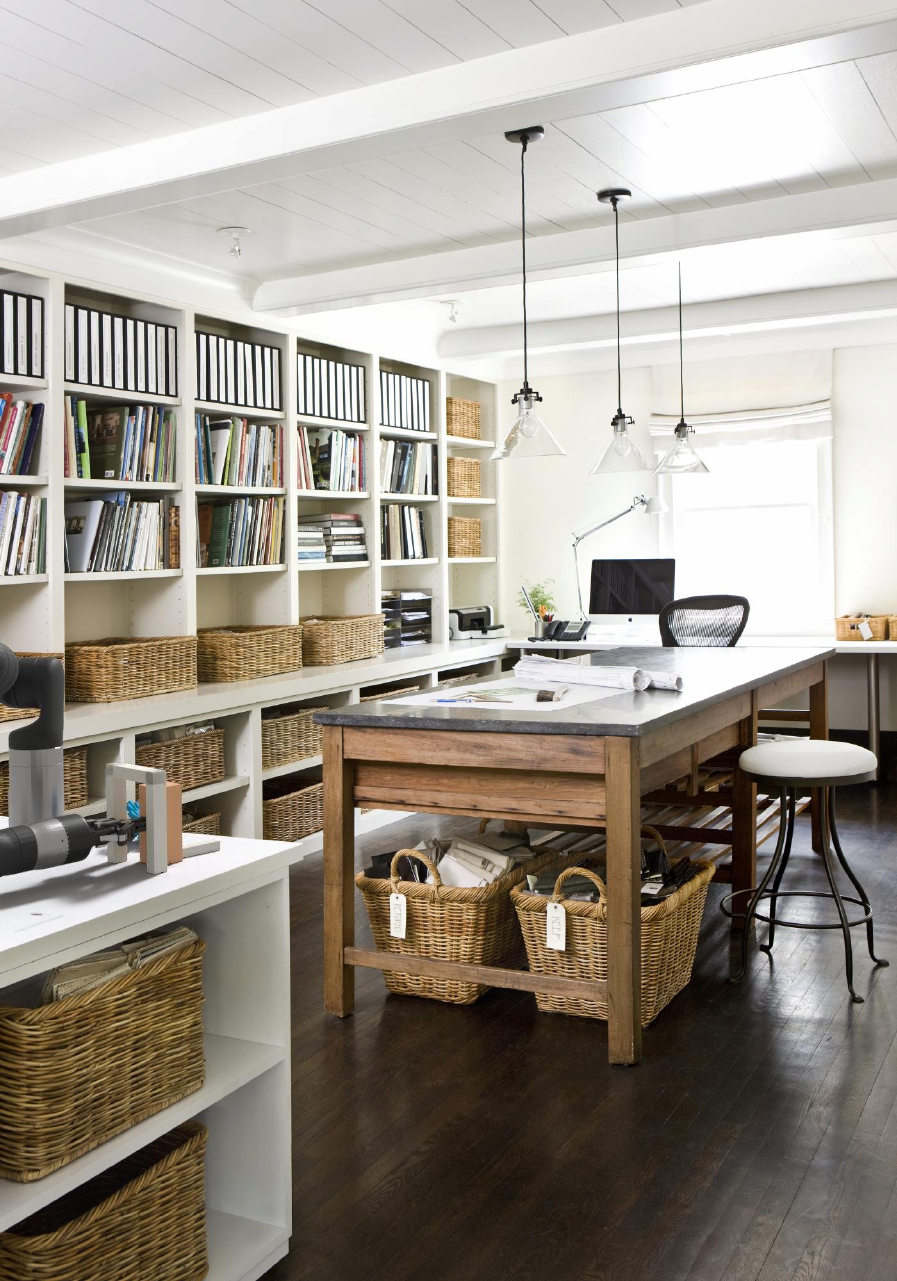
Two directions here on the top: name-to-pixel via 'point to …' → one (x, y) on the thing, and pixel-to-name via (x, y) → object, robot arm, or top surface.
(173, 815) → the orange and grey bookend
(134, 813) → the blue branched piece
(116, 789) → the grey arch
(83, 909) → the top surface
